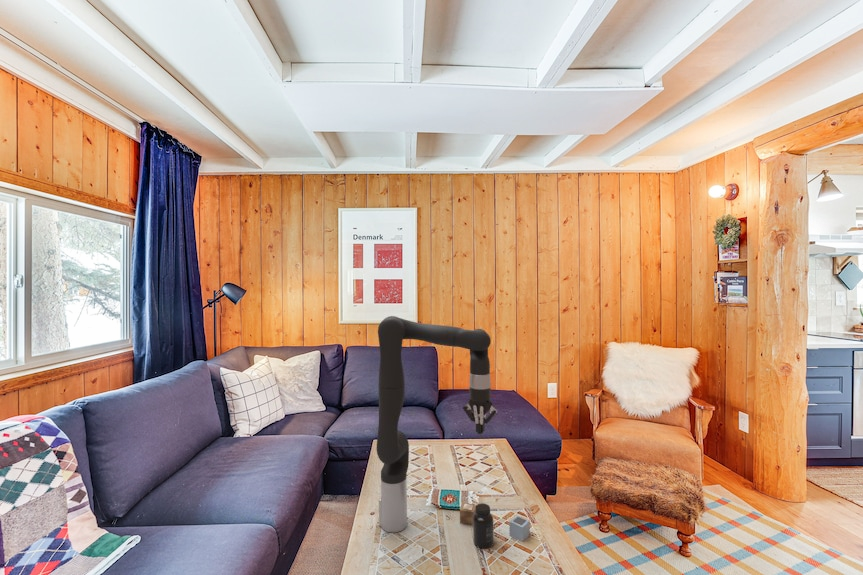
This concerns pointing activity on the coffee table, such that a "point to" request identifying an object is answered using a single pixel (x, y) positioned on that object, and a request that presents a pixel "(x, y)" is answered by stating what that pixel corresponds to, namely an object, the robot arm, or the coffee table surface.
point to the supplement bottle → (483, 526)
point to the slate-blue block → (519, 528)
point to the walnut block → (467, 513)
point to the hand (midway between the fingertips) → (480, 433)
